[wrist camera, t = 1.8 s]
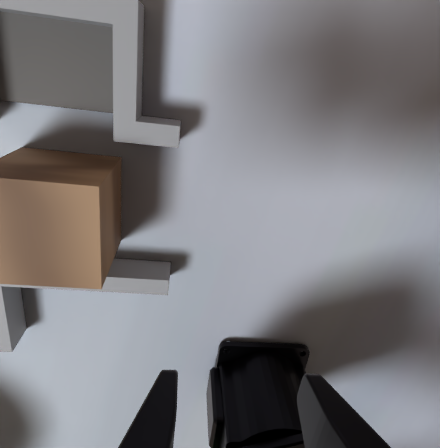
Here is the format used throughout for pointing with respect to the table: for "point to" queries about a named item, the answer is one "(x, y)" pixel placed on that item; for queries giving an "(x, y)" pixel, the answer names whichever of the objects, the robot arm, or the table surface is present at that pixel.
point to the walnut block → (58, 218)
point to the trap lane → (81, 103)
